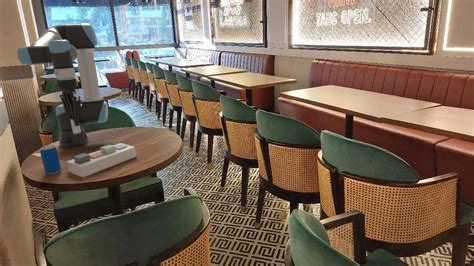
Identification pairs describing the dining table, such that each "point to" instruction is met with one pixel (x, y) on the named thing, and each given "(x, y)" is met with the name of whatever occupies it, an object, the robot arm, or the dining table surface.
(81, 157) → the charcoal key
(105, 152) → the sage key
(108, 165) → the keypad
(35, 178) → the dining table surface
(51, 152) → the beverage can
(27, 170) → the dining table surface
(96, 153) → the terracotta key
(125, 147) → the slate key
